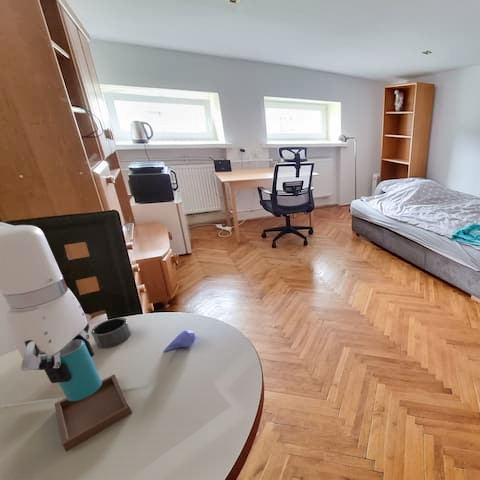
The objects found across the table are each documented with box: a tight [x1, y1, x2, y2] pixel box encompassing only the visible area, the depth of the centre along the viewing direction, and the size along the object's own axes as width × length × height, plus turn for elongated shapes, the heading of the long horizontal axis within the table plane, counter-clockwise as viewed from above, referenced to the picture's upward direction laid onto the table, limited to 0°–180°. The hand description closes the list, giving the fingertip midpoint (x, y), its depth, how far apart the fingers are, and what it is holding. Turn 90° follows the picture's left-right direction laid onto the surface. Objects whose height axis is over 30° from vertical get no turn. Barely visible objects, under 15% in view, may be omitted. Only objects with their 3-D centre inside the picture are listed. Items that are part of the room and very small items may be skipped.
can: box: [47, 340, 102, 401], centre depth 59 cm, size 6×6×11 cm
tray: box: [54, 374, 133, 452], centre depth 63 cm, size 14×11×2 cm
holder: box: [90, 317, 132, 349], centre depth 84 cm, size 8×8×5 cm
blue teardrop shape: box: [162, 329, 197, 353], centre depth 82 cm, size 8×6×6 cm
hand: (74, 367), depth 59 cm, fingers closed on can, 5 cm apart
